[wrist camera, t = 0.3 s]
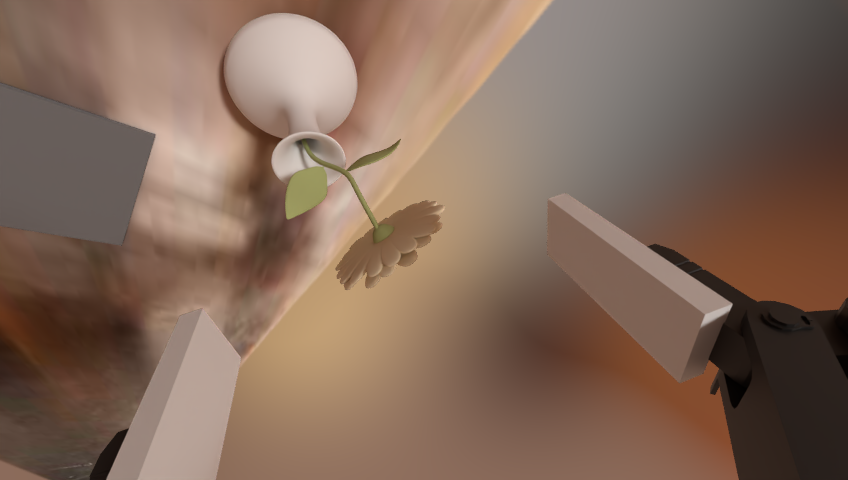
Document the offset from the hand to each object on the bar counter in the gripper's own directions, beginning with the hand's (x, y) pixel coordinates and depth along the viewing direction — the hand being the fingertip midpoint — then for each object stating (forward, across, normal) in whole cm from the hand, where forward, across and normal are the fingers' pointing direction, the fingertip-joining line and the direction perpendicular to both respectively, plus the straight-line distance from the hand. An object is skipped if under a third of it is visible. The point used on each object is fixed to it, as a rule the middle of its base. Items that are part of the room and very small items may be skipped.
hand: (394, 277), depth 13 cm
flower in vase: (+28, -2, +5) cm, 28 cm away
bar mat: (+29, -28, +2) cm, 40 cm away
